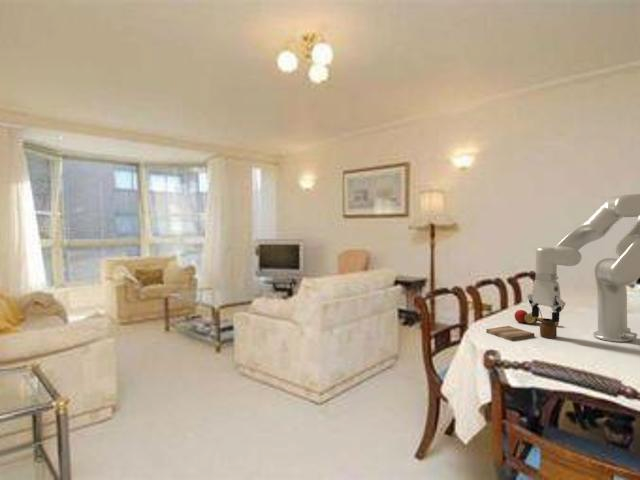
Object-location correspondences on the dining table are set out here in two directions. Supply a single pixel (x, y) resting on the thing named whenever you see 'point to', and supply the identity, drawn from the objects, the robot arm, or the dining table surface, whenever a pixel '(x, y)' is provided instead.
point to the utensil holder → (547, 328)
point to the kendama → (528, 317)
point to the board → (510, 333)
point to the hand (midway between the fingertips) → (545, 319)
